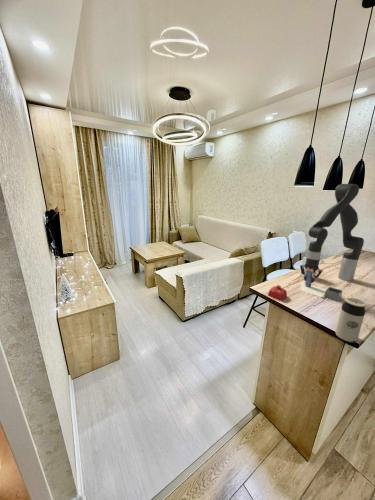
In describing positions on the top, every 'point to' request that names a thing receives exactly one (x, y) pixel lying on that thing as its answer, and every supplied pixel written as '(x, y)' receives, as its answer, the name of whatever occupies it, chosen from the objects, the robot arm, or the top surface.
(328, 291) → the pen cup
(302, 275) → the skincare box
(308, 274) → the marker
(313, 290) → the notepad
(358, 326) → the travel mug
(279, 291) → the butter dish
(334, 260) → the top surface
